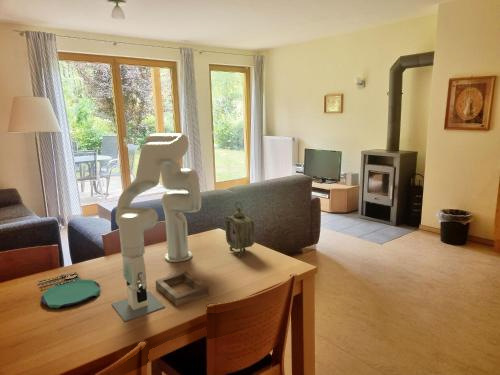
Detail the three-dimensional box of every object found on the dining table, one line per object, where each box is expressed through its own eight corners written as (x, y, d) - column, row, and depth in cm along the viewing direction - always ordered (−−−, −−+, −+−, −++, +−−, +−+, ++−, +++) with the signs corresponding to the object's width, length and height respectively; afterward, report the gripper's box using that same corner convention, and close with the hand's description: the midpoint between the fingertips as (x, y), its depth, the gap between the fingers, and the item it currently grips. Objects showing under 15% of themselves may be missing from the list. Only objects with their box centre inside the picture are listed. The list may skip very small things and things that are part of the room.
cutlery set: (47, 317, 121) (46, 311, 120) (32, 285, 144) (31, 280, 143) (107, 297, 133) (107, 292, 133) (85, 271, 156) (84, 266, 155)
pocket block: (156, 287, 139) (155, 280, 139) (186, 277, 147) (185, 271, 146) (176, 306, 125) (176, 298, 124) (208, 294, 133) (208, 287, 132)
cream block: (128, 304, 126) (126, 285, 125) (142, 299, 129) (140, 281, 128) (133, 310, 122) (131, 291, 121) (147, 305, 125) (146, 286, 124)
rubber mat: (111, 304, 127) (111, 303, 127) (149, 292, 135) (149, 291, 135) (124, 321, 116) (124, 320, 116) (165, 307, 125) (165, 306, 124)
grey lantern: (226, 249, 177) (224, 200, 172) (242, 245, 181) (241, 197, 176) (238, 259, 165) (237, 206, 160) (256, 255, 169) (255, 204, 164)
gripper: (113, 245, 126) (118, 289, 130) (130, 260, 113) (135, 309, 116) (134, 240, 131) (138, 283, 134) (153, 254, 117) (157, 302, 121)
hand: (137, 295), depth 125 cm, fingers open, 9 cm apart
